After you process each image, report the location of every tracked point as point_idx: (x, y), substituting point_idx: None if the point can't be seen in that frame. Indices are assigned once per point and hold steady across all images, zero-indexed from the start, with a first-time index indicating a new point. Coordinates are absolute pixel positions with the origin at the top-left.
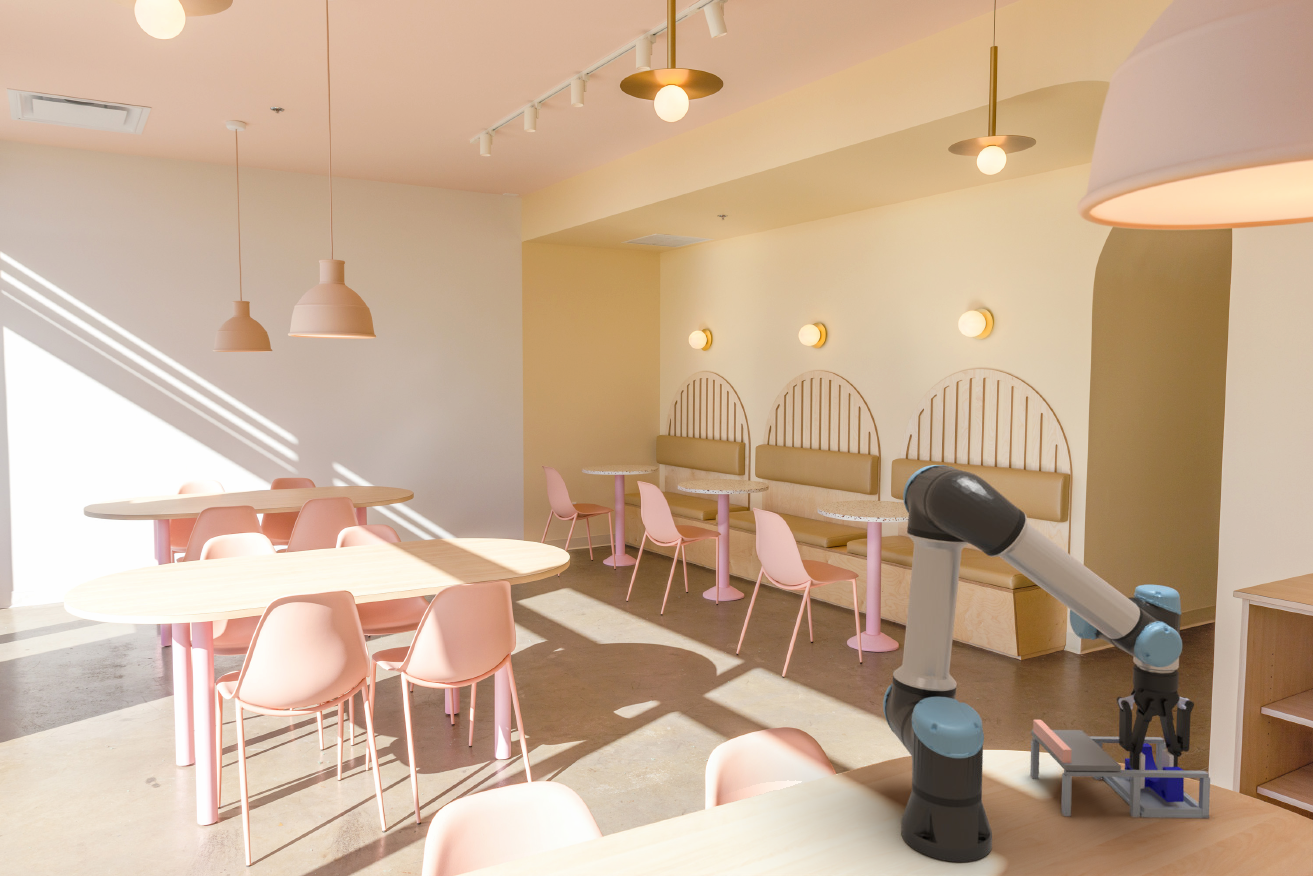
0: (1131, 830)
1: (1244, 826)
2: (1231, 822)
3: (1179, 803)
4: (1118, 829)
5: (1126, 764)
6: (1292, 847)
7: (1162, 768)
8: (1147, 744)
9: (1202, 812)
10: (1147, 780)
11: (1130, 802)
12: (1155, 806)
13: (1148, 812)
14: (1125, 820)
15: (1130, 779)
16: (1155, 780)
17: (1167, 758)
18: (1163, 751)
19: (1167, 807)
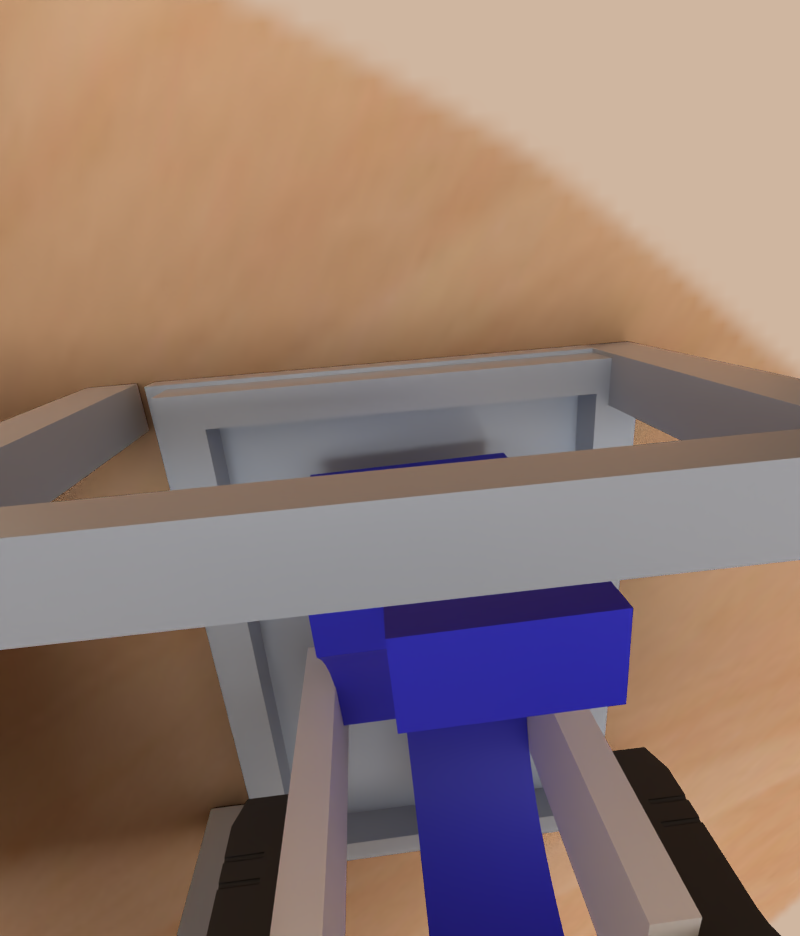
0: (175, 921)
1: (700, 813)
2: None
3: None
4: (116, 924)
5: None
6: (760, 906)
7: (553, 726)
8: (602, 649)
9: None
10: (391, 712)
11: (192, 885)
12: (365, 769)
13: None
14: (171, 859)
15: (357, 457)
16: (442, 731)
17: (609, 933)
18: (641, 933)
19: (402, 840)
